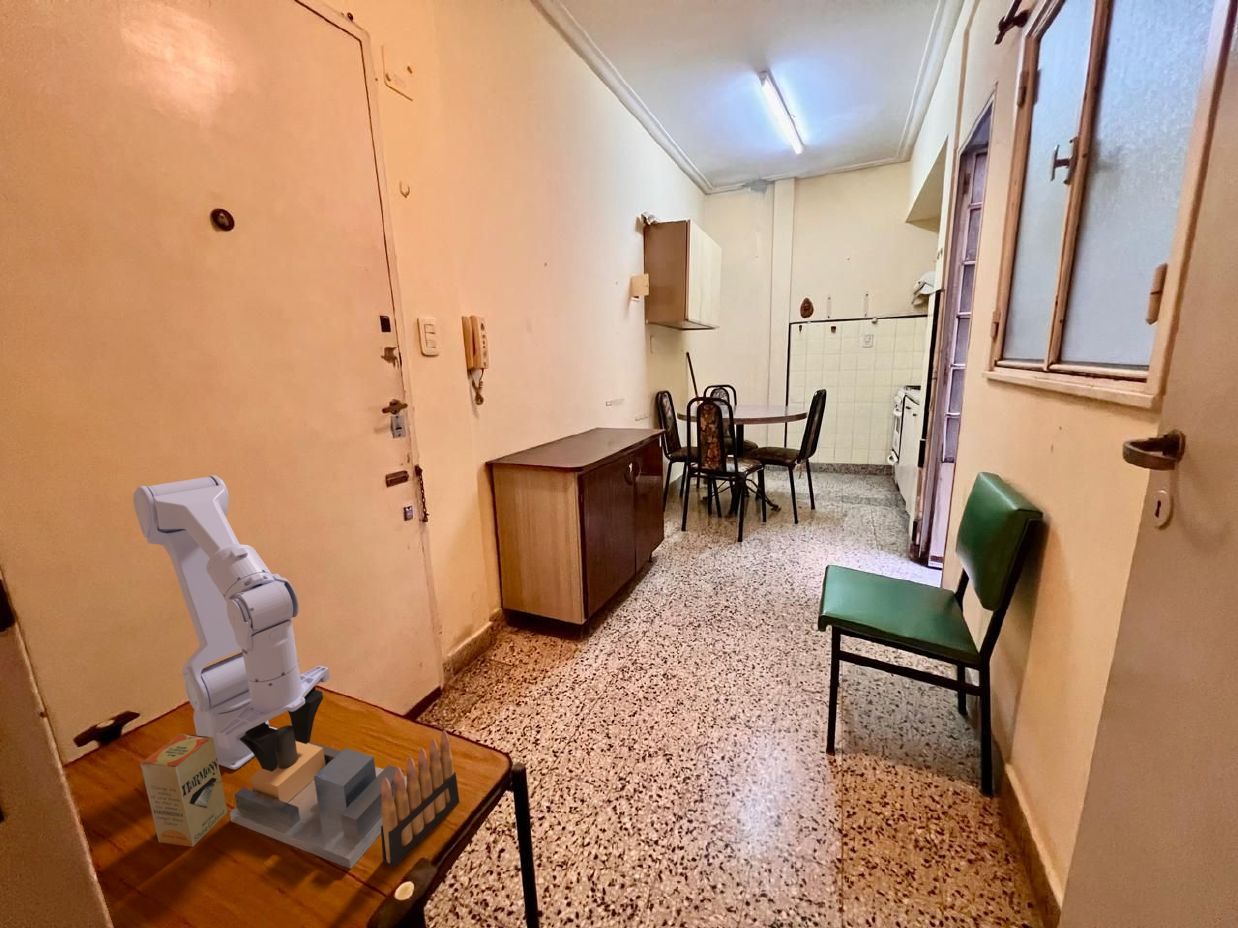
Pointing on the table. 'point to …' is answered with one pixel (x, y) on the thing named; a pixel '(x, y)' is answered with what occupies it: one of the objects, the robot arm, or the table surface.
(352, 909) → the table surface
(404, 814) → the ammunition clip
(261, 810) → the frame
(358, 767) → the housing
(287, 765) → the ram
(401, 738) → the table surface
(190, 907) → the table surface
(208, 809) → the shoe polish box
